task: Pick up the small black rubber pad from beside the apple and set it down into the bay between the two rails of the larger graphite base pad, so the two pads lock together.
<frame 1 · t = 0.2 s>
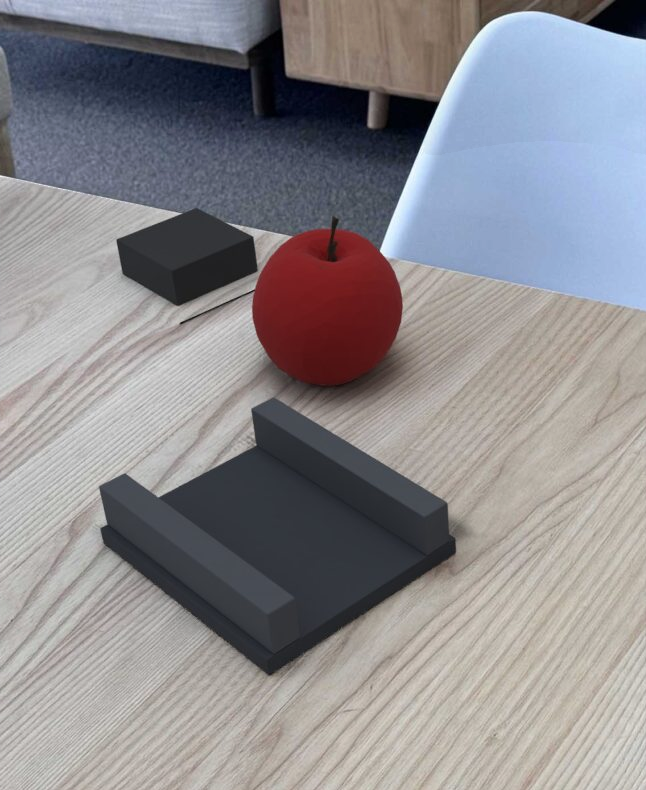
apple: (334, 368, 87), on the table
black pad: (193, 290, 95), on the table
base pad: (278, 547, 72), on the table
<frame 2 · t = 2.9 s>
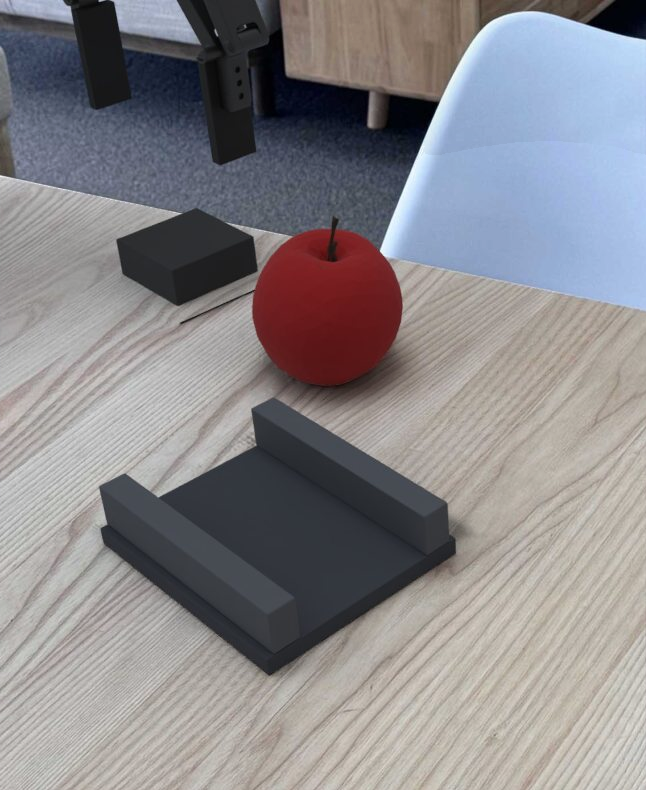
hand: (170, 129, 89), 12 cm above the table, tool pointing down, fingers open, 13 cm apart
nothing on the table moved.
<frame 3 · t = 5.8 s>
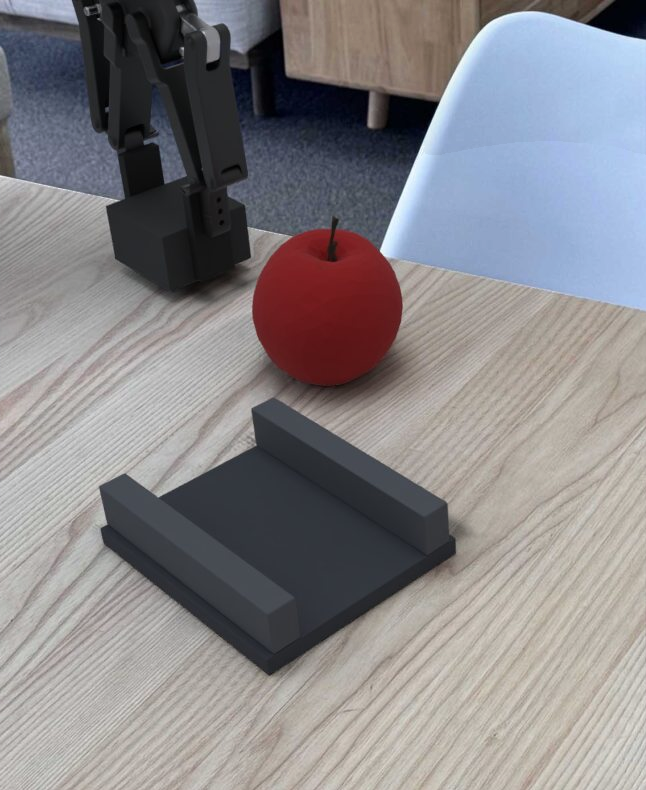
hand: (182, 254, 94), 3 cm above the table, tool pointing down, fingers closed on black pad, 6 cm apart
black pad: (183, 258, 94), point 2 cm above the table, touching gripper
everything else where it was.
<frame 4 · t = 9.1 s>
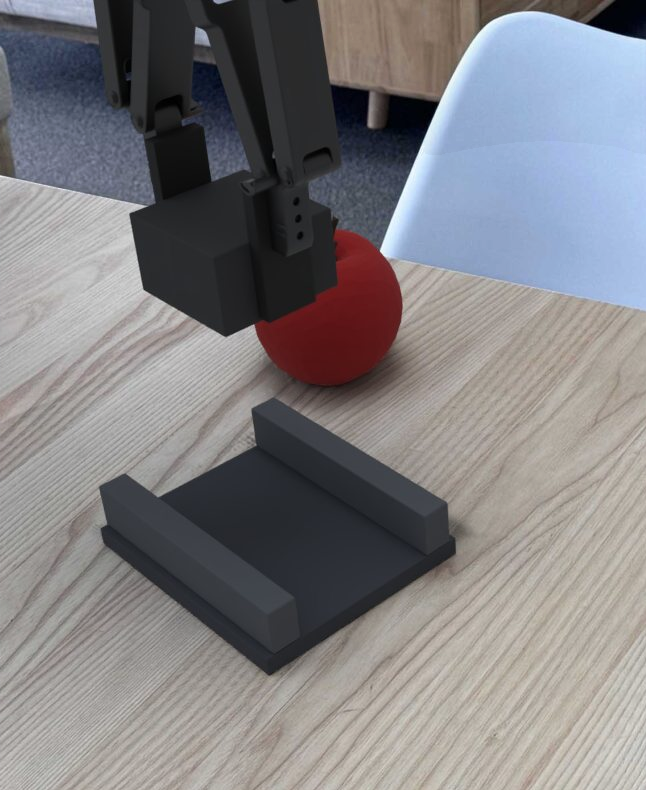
hand: (239, 282, 65), 15 cm above the table, tool pointing down, fingers closed on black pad, 6 cm apart
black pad: (240, 288, 65), point 14 cm above the table, touching gripper
everything else where it was.
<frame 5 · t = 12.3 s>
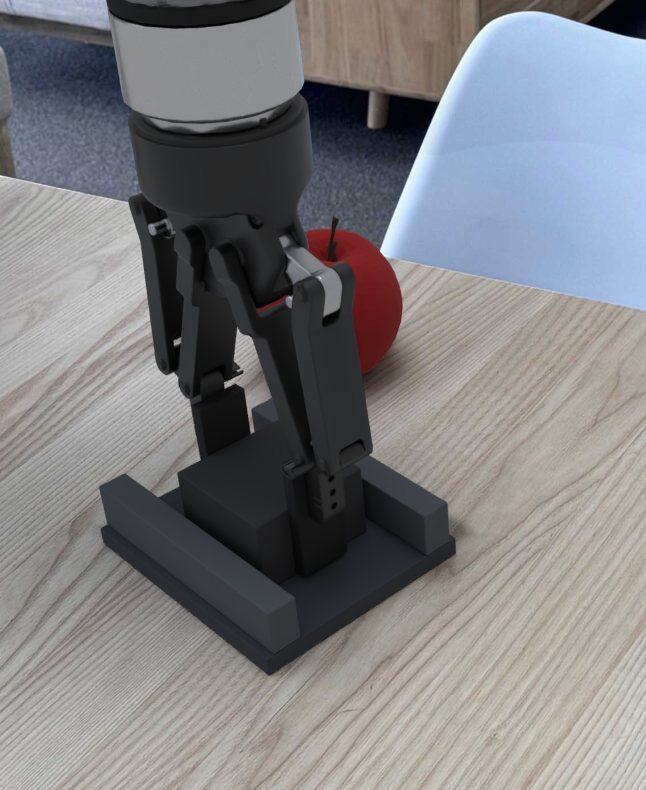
hand: (276, 529, 71), 1 cm above the table, tool pointing down, fingers closed on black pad, 6 cm apart
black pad: (277, 533, 72), point 1 cm above the table, touching base pad, gripper
everything else where it was.
when the fingers open (1 cm above the table, at t = 12.5 s): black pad stays where it is, resting on base pad.
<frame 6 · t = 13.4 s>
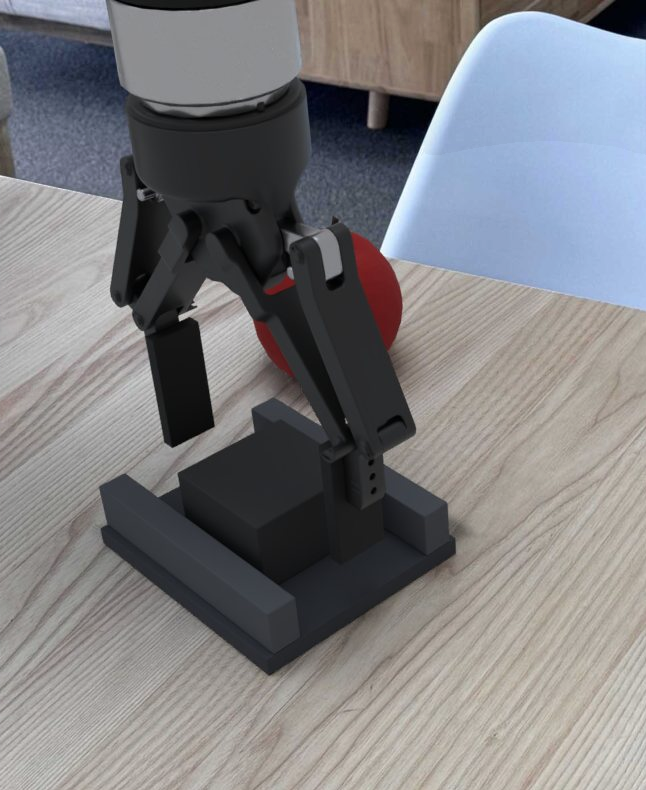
hand: (269, 489, 70), 4 cm above the table, tool pointing down, fingers open, 13 cm apart
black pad: (277, 533, 72), point 1 cm above the table, touching base pad
everything else where it was.
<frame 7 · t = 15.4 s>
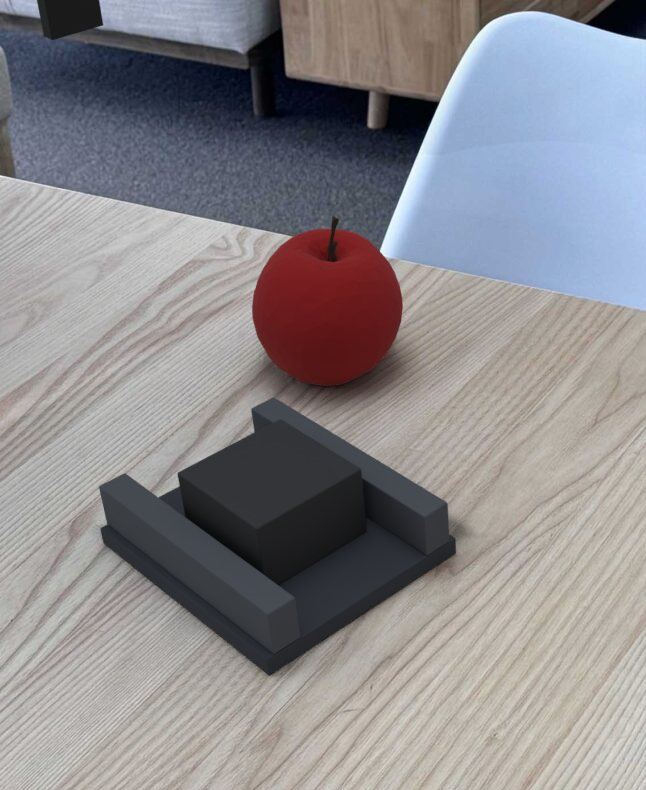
nothing on the table moved.
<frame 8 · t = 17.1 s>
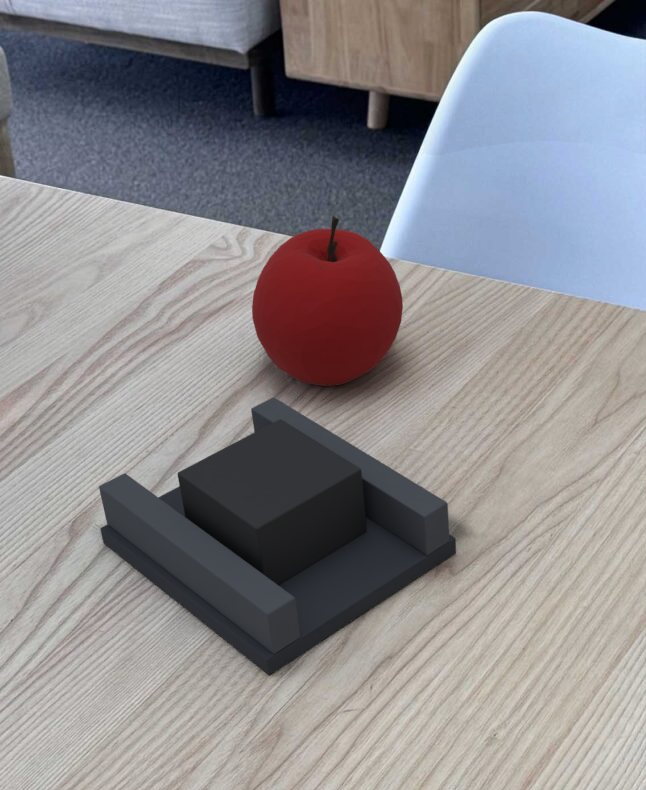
nothing on the table moved.
at the end: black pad 0.1 cm off-centre on the base pad, point 1.0 cm above the base pad's base; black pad tilted 0°; the gripper is holding nothing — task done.
